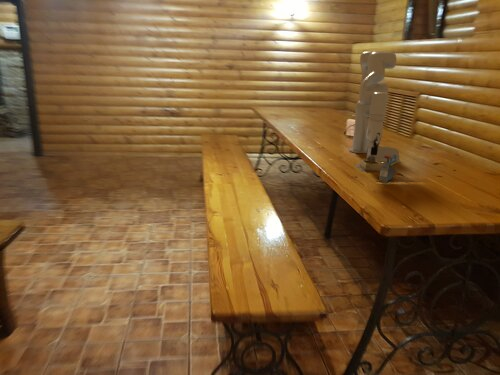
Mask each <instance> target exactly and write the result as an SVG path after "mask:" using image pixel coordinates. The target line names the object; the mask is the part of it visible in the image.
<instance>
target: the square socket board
mask: <svg viewBox="0 0 500 375" xmlns="http://www.w3.org/2000/svg"><path fill="white" fill-rule="evenodd" d="M392 157H393V156H389V155H385V156H384V158H387V162H389V159H390V158H392ZM387 162H377V161H376V160H375V161H369V160H367V159H360V161H359V164H360V167H361V168H362V169H363V170H365V171H380V170H381V166H382V165H383V164H385V163H387Z"/></svg>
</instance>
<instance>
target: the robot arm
mask: <svg viewBox="0 0 500 375" xmlns="http://www.w3.org/2000/svg"><path fill="white" fill-rule="evenodd" d="M359 57H360V58H359V63H360V64H359V65H360V69H361V81H360V85H359V90H358V92H359V93H358V101H357V102H356V103H355V110H354V111H355V119H354V121H355V122H354V129H353V139H352V147H349V148H348V151H349V152H352V153H355V154H356V153H357V154H367V152H368V144H369V140H370V141H373V142H372V147H371V155H377V151H378V147H380V146H379V145H380V144H381V141H382V138H383V129H384V122H385V118H386V112H387V106H388V105H387V104H388V102H389V85H388V83H386V82H384V81H383V80H384V79H385V78H386V69H387V70H391V69H394V68H396V65H397V55H396V53H395V52H393V51H373V50H371V51H364V52H361V54H360V56H359ZM374 140H377V141H374ZM374 142H376V143H375V144H374Z"/></svg>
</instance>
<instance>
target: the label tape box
mask: <svg viewBox="0 0 500 375" xmlns="http://www.w3.org/2000/svg"><path fill="white" fill-rule="evenodd" d="M393 159H394V160H393ZM396 159H397V155H396V156H394V157H392V158H390V162H387V163H385V164H383V165H382V166H381V171H380V172H379V177H378V182H379V183H382V184H388V183H389V182H390V180H392V179H394V175H395V172H394V170H395V169H396V164H397V162H396ZM392 160H393V161H392ZM395 171H396V170H395Z"/></svg>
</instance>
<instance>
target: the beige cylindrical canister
mask: <svg viewBox="0 0 500 375" xmlns="http://www.w3.org/2000/svg"><path fill="white" fill-rule="evenodd" d="M374 141H377V140H374ZM372 142H373V141H370V140H369V144H368V152H367V153H366V160H369V161H375V159H376V155H371V147H372ZM375 143H376V142H374V144H375Z"/></svg>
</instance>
